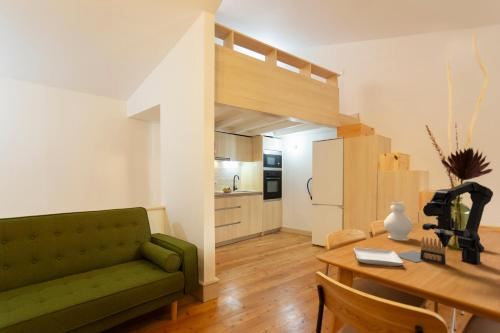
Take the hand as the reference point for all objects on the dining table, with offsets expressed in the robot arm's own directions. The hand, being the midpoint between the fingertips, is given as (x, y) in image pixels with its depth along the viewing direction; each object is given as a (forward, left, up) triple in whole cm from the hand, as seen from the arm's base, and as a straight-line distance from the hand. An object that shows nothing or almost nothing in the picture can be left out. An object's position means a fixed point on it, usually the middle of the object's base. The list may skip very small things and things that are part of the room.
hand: (445, 247), depth 131 cm
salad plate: (+21, +23, -10) cm, 33 cm away
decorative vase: (+46, -29, -9) cm, 55 cm away
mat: (+16, 0, -9) cm, 18 cm away
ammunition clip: (+6, 0, -9) cm, 11 cm away
